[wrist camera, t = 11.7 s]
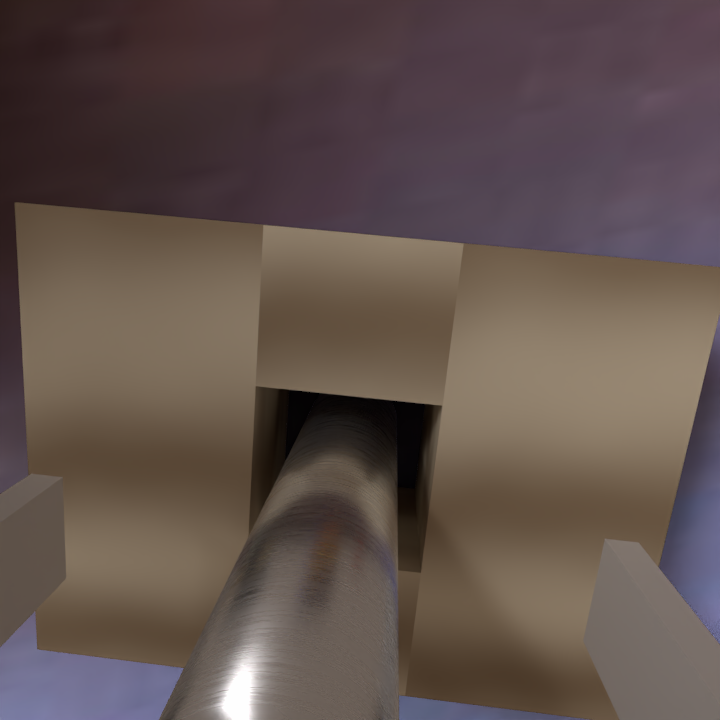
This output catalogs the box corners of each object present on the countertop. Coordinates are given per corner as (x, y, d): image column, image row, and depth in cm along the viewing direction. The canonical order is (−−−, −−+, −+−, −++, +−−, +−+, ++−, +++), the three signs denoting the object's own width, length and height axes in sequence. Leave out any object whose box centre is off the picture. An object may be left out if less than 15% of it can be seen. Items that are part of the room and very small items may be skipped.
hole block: (118, 211, 21) (14, 202, 16) (635, 258, 21) (730, 268, 15) (121, 552, 25) (37, 649, 19) (566, 605, 24) (621, 723, 18)
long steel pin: (313, 374, 22) (128, 687, 7) (401, 383, 22) (414, 723, 7) (307, 455, 23) (130, 901, 8) (392, 465, 23) (385, 938, 8)
